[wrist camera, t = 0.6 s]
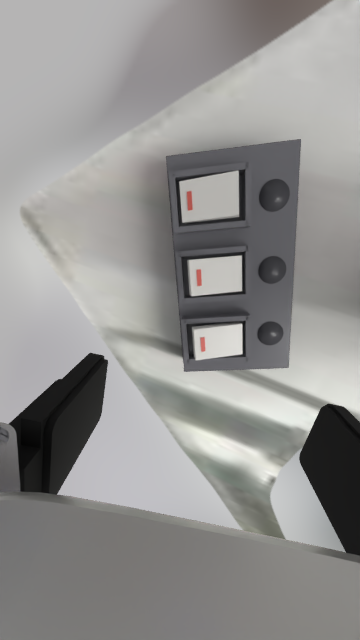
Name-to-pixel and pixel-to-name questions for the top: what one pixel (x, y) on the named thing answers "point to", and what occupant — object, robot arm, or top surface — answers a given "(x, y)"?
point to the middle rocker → (215, 275)
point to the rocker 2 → (217, 340)
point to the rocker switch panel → (241, 252)
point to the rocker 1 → (210, 197)
